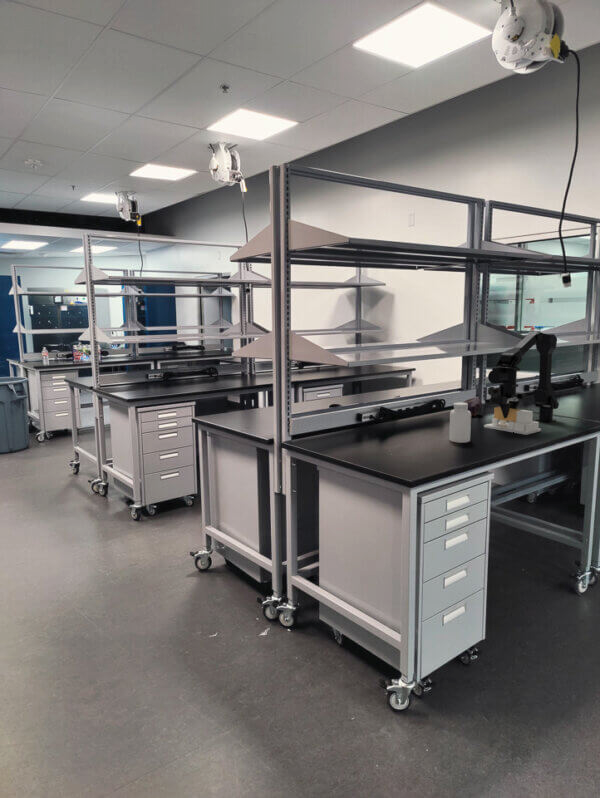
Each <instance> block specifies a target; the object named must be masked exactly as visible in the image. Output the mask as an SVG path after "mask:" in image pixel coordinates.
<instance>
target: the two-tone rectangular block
mask: <svg viewBox="0 0 600 798" xmlns="http://www.w3.org/2000/svg"><path fill="white" fill-rule="evenodd" d="M493 413H494V414H493V415H494V416H493V418H496V419H499V421H500V420H504V421H507V422H509V421H514V422H518V423H524V424H529V423H532V421H533V414H534V411H532V410H528V409H527V410H525V409H519V408H516V409H511V408H510V410H509V413H508V416H507V418H504V416H503V413H502V410H501V407H500V406H496V407H494V412H493Z"/></svg>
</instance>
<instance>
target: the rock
mask: <svg viewBox="0 0 600 798" xmlns="http://www.w3.org/2000/svg"><path fill="white" fill-rule="evenodd" d="M462 403H467V404H468V407H467V408H468V409H467V410H469V411H470V412H471V417H472V416H473V417H476V416H477V415H478V414H479V411H480V409H481V408H482V406H483V403H482V401H481V400H480V398H479V397H476V396H474V397H471V398H469V399H466V400H464V401H463V402H462Z"/></svg>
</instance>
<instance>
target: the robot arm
mask: <svg viewBox="0 0 600 798" xmlns="http://www.w3.org/2000/svg"><path fill="white" fill-rule="evenodd" d="M557 343H558V337H557V336H556V335H555V334H553V333H545V332H544V333H543V332H542V331H541V332H540V331H529V332H528V333H527V335H526V336H525V337H524V338H523V339H522V340H520V342H519V343H517V344H516V345H515V346H514V347H512V348H510V349H507V350H506V351H504V352H502V353H501V354H500V357H499V359H498V361H497V362H496V365H495V367H492V369H491V371H490V372H489V373H488V375H487V378H488V382H490V384H493V385H494V384H499V387H494V386H490V387H488V389H487V394H488V395H489V396H490V397H489V402H490V403H492V404H497V405H498V407H501V410H502V413H503V416H504V418H507V416H508V413H509V410H510V408H511V409H518V407H519V405H520V404H521V402H522V401H526V400H527V399H528V395H527V394H526V392H520V391H517V388H518V387H519V383H517V378H518V377H517V376H518V372H519V371H521V369H520V367H518V366H519V365H520V363H521V362H522V360H523V356H524V355H525V354H526V353H527V352H528V351H529V350H531V348H532V347H533V346H534V345H535V348H536V350H537V352H538V354H539V363H538V364H539V369H538V374H539V375H538V386H537V387H536V389H534V390H533V396H532V398H533V401H534V405H535V408H539V413H538V418H536V419H535V421H536V422H544V423H552V422H556V421H557V419H555V418H554V410H557V409H559V406H560V403H559V401H558V399H557V398H556V395H555V390H554V388H553V386H552V362H553V361H552V360H553V359H552V358H553V353H554V352H555V350H556V348H557ZM519 399H521V400H522V401H521V400H519Z"/></svg>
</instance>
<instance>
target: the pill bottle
mask: <svg viewBox="0 0 600 798" xmlns="http://www.w3.org/2000/svg"><path fill="white" fill-rule="evenodd" d="M467 407H468V404H467V403H463V402H460V401H459V402H458V401H457V402H454V403H453V409H452V410H450V413H449V437H448V438H449V441H451V442H452V443H453V442H454V443H460V444H461V443H462V444H463V443H465V444H466V443H469V442H470V441H471V429H472V427H471V426H472V416H471V412H470V411H469V410H467V409H468V408H467Z"/></svg>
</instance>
